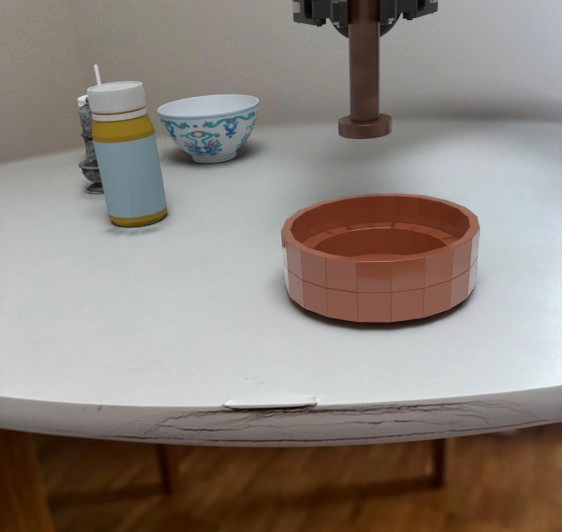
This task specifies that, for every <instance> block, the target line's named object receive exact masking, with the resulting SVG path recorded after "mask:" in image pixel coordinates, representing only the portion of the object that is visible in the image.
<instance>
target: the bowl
mask: <svg viewBox="0 0 562 532" xmlns="http://www.w3.org/2000/svg"><path fill="white" fill-rule="evenodd" d="M282 225H283V226H282V228H281V229H280V235H281V249H282V260H283V261H282V262H283V273H284V274H283V276H284V286H285V288H286V291H287V293H288V296H289V297H290V299H292V300H293V301H294V302H295V303H296V304H298V305H299V306H300V307H302V308H303V309H305V310H308V311H311V312H313V313H315V314H319V315H322V316H324V317H327V318H331V319H336V320H341V321H342V320H343V321H348V322H354V323H355V322H356V323H396V322H402V321H410V320H416V319H423V318H427V317H430V316H434V315H436V314H439V313H440V314H441V313H442V312H445V311H449V310H451V309H452V308H453V307H455V306H457V305H458V304H461V303H462V302H463V301H465V300H466V299H468V298H469V296H470V294H471V293H472V291H473V290H474V288H475V286H476V285H477V271H478V258H479V246H480V245H479V244H480V234H481V233H480V232H481V226H480V222H479V217H478V215H476V214H475V213H474V212H473V211H471V210H470V209H469V208H468V207H466V206H464V205H461V204H459V203H456V202H454V201H451V200H449V199H444V198H439V197H434V196H430V195H424V194H416V193H415V194H413V193H401V192H400V193H399V192H384V193H383V192H381V193H362V194H355V195H347V196H339V197H336V198H332V199H328V200H323V201H319V202H316V203H313V204H311V205H309V206H307V207H304V208H301V209H299V210H297V211H296V212H295V213H293V214H291V216H288V217H287V218H286V219H285V221H284V224H282Z"/></svg>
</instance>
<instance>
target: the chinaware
mask: <svg viewBox="0 0 562 532" xmlns="http://www.w3.org/2000/svg"><path fill="white" fill-rule="evenodd" d="M259 108H260V100H259V98H258V97H256V96H253V95H248V94H238V93H237V94H235V93H234V94H233V93H229V94H228V93H227V94H223V93H222V94H211V95H209V94H207V95H200V96H192V97H187V98H182V99H177V100H174V101H170V102H167V103H165V104H162V105H160V106H159V107H158V108H157V109H156V111H157V114H158V118H159V120H160V122H161V126H162V127H163V129H164V131H165V133H166V134H167V136H168V137H169V138H170V139H171V141H172V142H173V143H174V144H175V145H176V146H177V147H179V148H180V149H181V150H183V151H184V152H186V153H188V154H190V155H191V158H192V160H193V162H195V163H200V164H216V163H222V162H223V163H224V162H227V161H230V160H233V159H234V158H236V156H237V150H238V149H239V148H240V147H242V146H243V145H244V143H246V142H247V140H248V139H249V137H250V136H251V134H252V132H253V130H254V128H255V125H256V122H257V118H258V115H259V114H258V113H259Z"/></svg>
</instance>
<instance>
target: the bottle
mask: <svg viewBox="0 0 562 532" xmlns="http://www.w3.org/2000/svg"><path fill="white" fill-rule="evenodd" d="M86 95H87V96H88V100H89V105H90V109H91V111H92V118H93V129H92V137H93V143H94V148H95V153H96V157H97V162H98V167H99V172H100V176H101V181H102V186H103V190H104V194H103V196H104V201H105V205H106V209H107V213H108V217H109V219H110V220H111V221H112V222H113V223H115V224H116V225H117V226H120V227H127V228H131V227H133V228H135V227H144V226H148V225H152V224H154V223H158V222H159V221H161V220H162V219H163V218H164V217H165V216H166V214H167V212H168V204H167V197H166V192H165V185H164V184H165V183H164V180H163V173H162V167H161V160H160V155H159V149H158V144H157V136H156V131H155V126H154V124H153V122H152V120H151V118H150V116H149V114H148V106H147V99H146V93H145V88H144V85H143V82H141V81H137V80H135V81H134V80H128V81H125V80H123V81H113V82H107V83H101V84H100V85H98V84H96V85H93V86H89V87H88V88H87V89H86Z"/></svg>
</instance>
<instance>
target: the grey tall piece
mask: <svg viewBox="0 0 562 532" xmlns="http://www.w3.org/2000/svg"><path fill="white" fill-rule="evenodd" d="M85 101H86V104H84V105H83V106H82V107H79V109H78V115H79V120H80V125H81V130H82V132H81V133H80V137H81V138H82V139H83V142H84V146H85V151H86V152H85V159H84V160H82V161H80V162H79V163H78V168H79V169H81V172H82V174H83V176H84V177H85V179H86V180H88V181H89V182H92V183H90V184H89V185H88V187H86V189H85V191H86V193H88V194H90V195H91V194H92V195H104V190H103V186H102V181H101V176H100V172H99V167H98V162H97V157H96V153H95V148H94V143H93V137H92V129H93V118H92V111H91V109H90V105H89V100H88V98H87V97H86V98H85Z"/></svg>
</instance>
